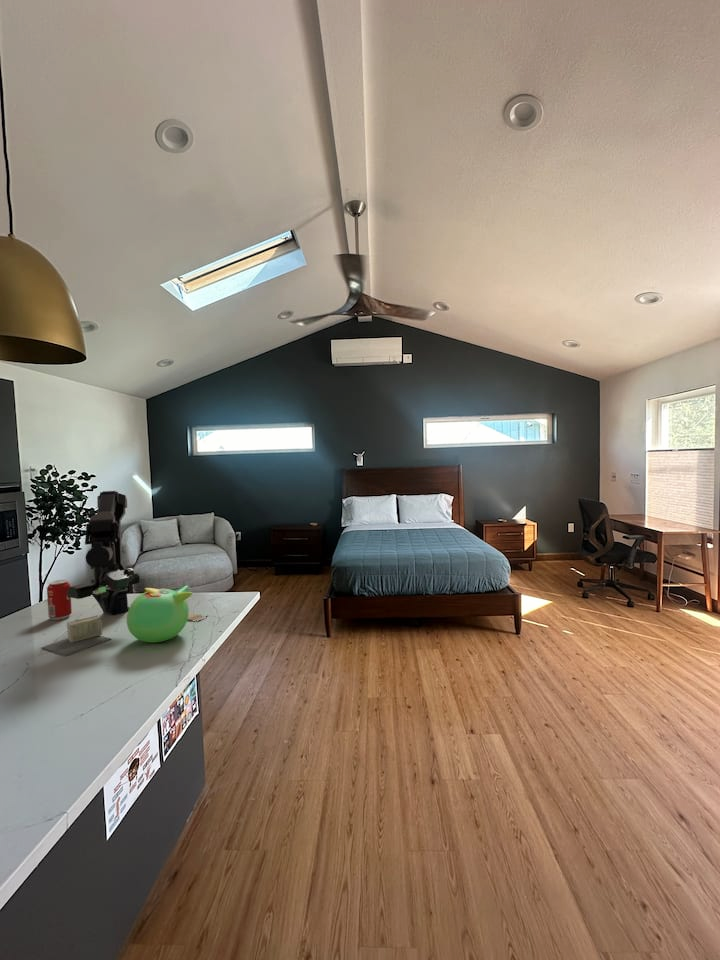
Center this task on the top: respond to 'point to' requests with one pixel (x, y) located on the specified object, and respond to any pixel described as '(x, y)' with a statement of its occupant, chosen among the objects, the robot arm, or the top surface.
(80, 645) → the mat
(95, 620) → the small box
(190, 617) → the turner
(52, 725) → the top surface
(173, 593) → the toy bird
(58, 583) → the beverage can
